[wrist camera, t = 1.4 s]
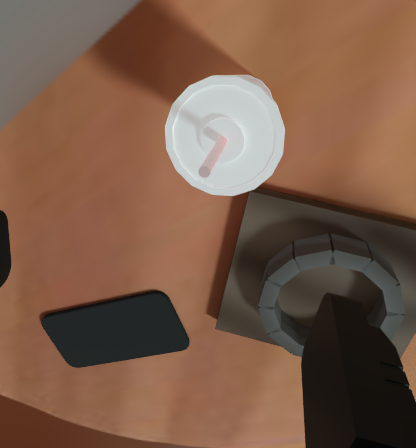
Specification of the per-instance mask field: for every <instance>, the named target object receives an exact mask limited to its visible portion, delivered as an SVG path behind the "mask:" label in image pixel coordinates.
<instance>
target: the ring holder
mask: <svg viewBox="0 0 416 448" xmlns="http://www.w3.org/2000/svg"><path fill="white" fill-rule="evenodd" d="M327 292H329V293H333V294H337V295H341V296H345V297H349V298H353V299H357V300H360V301H361V302H362V304H363V308H364V311H365V314H366V318H367V321H368V325H370V326H374V327H378V328H381V330H382V331H383V332H384V333H385V335H386V336H387V337H388V338H389V340H390V341H391V342H392V343H393V344H394V346H395V347H396V349H397V352H398V355H399V357H400V358H401V356H402V355H403V353H404V351H405V350H406V348H407V346H408V344H409V343H410V341H411V339H412V338H413V336H414V334H415V333H416V224H412V223H408V222H404V221H399V220H395V219H391V218H387V217H382V216H378V215H374V214H370V213H365V212H361V211H357V210H353V209H348V208H344V207H340V206H336V205H332V204H327V203H323V202H319V201H315V200H310V199H306V198H302V197H298V196H293V195H289V194H285V193H281V192H276V191H272V190H268V189H264V188H259V187H257V188H256V189H254V190H251V191H249V195H248V199H247V203H246V207H245V211H244V215H243V219H242V223H241V227H240V231H239V235H238V239H237V243H236V247H235V251H234V255H233V259H232V263H231V267H230V271H229V275H228V279H227V283H226V287H225V291H224V295H223V299H222V303H221V307H220V311H219V315H218V319H217V323H216V328H215V329H218V330H222V331H225V332H229V333H233V334H236V335H240V336H244V337H248V338H251V339H255V340H259V341H262V342H266V343H270V344H274V345H277V346H281V347H283V348H285V349H286V350H287V351H288V352H289V353H293V355H296V356H300V357H302V354H303V348H304V344H305V341H306V338H307V336H308V333H309V331H310V328H311V326H312V323H313V321H314V318H315V316H316V313H317V311H318V308H319V306H320V303H321V301H322V298H323V296H324V295H325V294H326V293H327Z"/></svg>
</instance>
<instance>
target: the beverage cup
mask: <svg viewBox="0 0 416 448" xmlns="http://www.w3.org/2000/svg"><path fill="white" fill-rule="evenodd" d="M284 134H285V128H284V124H283V121H282V118H281V115H280V112H279V109H278V106H277V103H276V102H275V101H274V100H273V98H272V95H271V92H270V90H269V89H268V88H267V87H266V85H265V84H264V83H263V82H262V81H261V80H259V79H257V78H255V77H252V76H250V75H213V76H210V77H208V78H205V79H203V80H201V81H199V82H196V83H194V84H192V85H190V86H188V87H187V88H186V90H185V91H184V92H183V93H182V94H181V95H180V96H179V97H178V98H177V100H176V101H175V102H174V103H173V104H172V107H171V110H170V113H169V116H168V119H167V122H166V125H165V135H166V150H167V152H168V154H169V156H170V158H171V160H172V163H173V165H174V167H175V169H176V171H177V172H178V173H179V174H181V175H182V176H183V177H184V178H185V179H186V180H187V181H188V182H189V183H190V184H191V185H192V186H194V187H196V188H198V189H200V190H203V191H205V192H207V193H209V194H212V195H226V196H235V195H238V194H241V193H245V192H248V191H251V190H254V189H256V188H257V187H258V186H259V185H260V184H262V183H263V182H264V181H265V180H266V179H268V178H269V177H270V176H271V175H272V174H273V172H274V170H275V168H276V166H277V164H278V162H279V161H280V159H281V157H282V155H283V146H284Z"/></svg>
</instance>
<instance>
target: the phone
mask: <svg viewBox="0 0 416 448" xmlns="http://www.w3.org/2000/svg"><path fill="white" fill-rule="evenodd" d="M41 324H42V326H43V328H44V330H45V331H46V333H47V334H48V336H49V337H50V339H51V340H52V342H53V343H54V345H55V346H56V348H57V349H58V351H59V352H60V354H61V355H62V357H63V358H64V359H65V361H66V362H67V363H68V364H69V365H70V366H72V367H76V368H80V367H86V366H92V365H99V364H105V363H111V362H117V361H123V360H129V359H135V358H141V357H147V356H153V355H159V354H165V353H171V352H177V351H182V350H185V349H187V348H188V346H189V337H188V335H187V333H186V331H185V329H184V327H183V325H182V323H181V321H180V319H179V317H178V315H177V313H176V311H175V309H174V307H173V305H172V303H171V301H170V299H169V297H168V296H167V295H166V294H165V293H163V292H160V291H151V292H146V293H142V294H137V295H133V296H128V297H123V298H119V299H114V300H110V301H105V302H100V303H96V304H91V305H87V306H81V307H76V308H72V309H68V310H64V311H59V312H54V313H50V314H47V315H46V316H45V317H44V318H43V319H42V321H41Z"/></svg>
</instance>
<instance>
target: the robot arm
mask: <svg viewBox="0 0 416 448" xmlns="http://www.w3.org/2000/svg"><path fill="white" fill-rule="evenodd" d="M10 269H11V253H10V242H9V230H8V220H7V216H6V214H5V213H4V212H3V211H1V210H0V287H1V286H2V285H3V284H4V283H5V281H6V280H7V278H8V276H9V273H10ZM301 369H302V387H303V406H304V425H305V443H306V448H416V402H415V399H414V396H413V393H412V391H411V390H410V389H409V382H408V380H407V377H406V374H405V372H403V366H402V363H401V360H400V357H399V355H398V352H397V349H396V347H395V346H394V344H393V343H392V342H391V341H390V340H389V338H388V337H387V336H386V335H385V333H384V332H383V331H382V330H381V328H378V327H374V326H370V325H368V321H367V318H366V314H365V311H364V308H363V304H362V302H361V301H360V300H357V299H353V298H349V297H345V296H341V295H337V294H333V293H329V292H327V293H326V294H325V295H324V296H323V298H322V301H321V303H320V306H319V308H318V311H317V313H316V316H315V318H314V321H313V323H312V326H311V328H310V331H309V333H308V336H307V338H306V341H305V344H304V348H303V354H302V363H301Z"/></svg>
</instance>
